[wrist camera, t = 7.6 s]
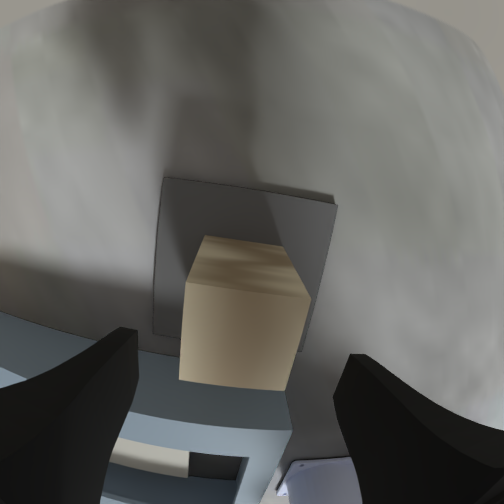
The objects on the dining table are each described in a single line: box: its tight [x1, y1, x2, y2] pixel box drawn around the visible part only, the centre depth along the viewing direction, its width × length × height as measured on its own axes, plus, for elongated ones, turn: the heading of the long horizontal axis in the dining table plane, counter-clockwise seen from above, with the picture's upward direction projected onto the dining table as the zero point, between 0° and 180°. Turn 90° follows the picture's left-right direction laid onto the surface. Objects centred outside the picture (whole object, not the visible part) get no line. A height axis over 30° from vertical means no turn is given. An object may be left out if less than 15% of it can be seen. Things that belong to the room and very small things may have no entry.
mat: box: [153, 177, 338, 352], centre depth 18 cm, size 10×10×1 cm
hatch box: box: [0, 311, 293, 504], centre depth 19 cm, size 24×18×6 cm
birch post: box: [179, 235, 311, 391], centre depth 14 cm, size 4×4×7 cm
